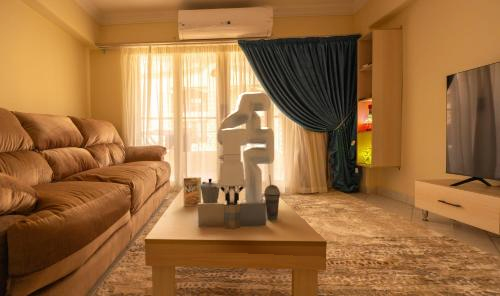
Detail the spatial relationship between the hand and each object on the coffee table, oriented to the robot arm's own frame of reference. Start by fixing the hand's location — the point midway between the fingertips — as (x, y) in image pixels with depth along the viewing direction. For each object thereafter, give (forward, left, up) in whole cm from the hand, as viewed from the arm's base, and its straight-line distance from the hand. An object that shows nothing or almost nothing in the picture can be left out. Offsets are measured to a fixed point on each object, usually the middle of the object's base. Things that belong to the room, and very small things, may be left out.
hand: (232, 202), depth 112 cm
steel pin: (0, 0, -4) cm, 4 cm away
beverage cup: (-18, +8, -10) cm, 22 cm away
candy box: (-13, -41, -10) cm, 44 cm away
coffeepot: (-4, -18, -10) cm, 21 cm away
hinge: (0, 0, -10) cm, 10 cm away
